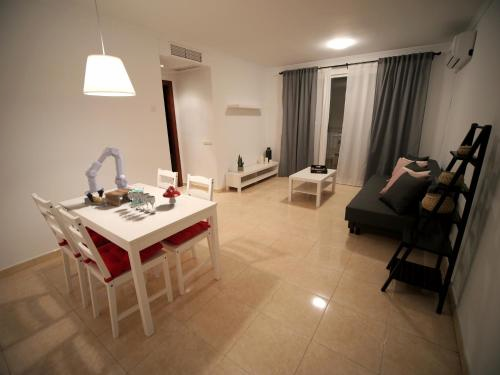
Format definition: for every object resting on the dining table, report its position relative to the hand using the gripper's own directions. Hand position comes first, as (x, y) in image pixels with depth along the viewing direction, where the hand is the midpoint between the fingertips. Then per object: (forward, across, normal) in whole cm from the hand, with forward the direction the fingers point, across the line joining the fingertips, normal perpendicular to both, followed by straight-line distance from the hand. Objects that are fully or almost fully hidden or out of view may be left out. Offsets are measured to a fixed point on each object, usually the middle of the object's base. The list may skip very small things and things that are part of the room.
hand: (96, 200), depth 187 cm
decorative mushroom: (+3, -21, +61) cm, 64 cm away
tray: (+3, 0, -1) cm, 3 cm away
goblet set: (+3, -2, +48) cm, 48 cm away
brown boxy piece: (+2, -9, +18) cm, 20 cm away
